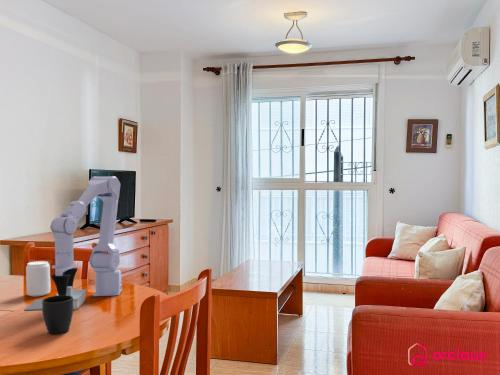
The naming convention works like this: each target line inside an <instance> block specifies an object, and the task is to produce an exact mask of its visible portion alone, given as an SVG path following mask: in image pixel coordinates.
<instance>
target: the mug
mask: <svg viewBox="0 0 500 375" xmlns="http://www.w3.org/2000/svg"><path fill="white" fill-rule="evenodd" d="M42 299H43V301H42V310H41V311H42V316H43V321H44V324H45V328H46V330H47V333H48V334H49V335H53V336H56V335H57V336H58V335H64V334H66V333H68V332H69V331H70V327H71V324H72V319H73V314H74V310H73V297H72V296H67V295H59V296H58V295H57V294H55V295H52V296H48V297H45V298H42Z"/></svg>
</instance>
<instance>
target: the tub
mask: <svg viewBox="0 0 500 375" xmlns="http://www.w3.org/2000/svg"><path fill="white" fill-rule="evenodd" d="M85 301H86V292H85V293H84V295H83V296H82V297H81V298H80V299H79V300H78V301H73V311H74V310H75V311H76V310H77V311H78V309H80V307H82V305H83V304H84V303H85Z"/></svg>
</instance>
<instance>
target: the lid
mask: <svg viewBox="0 0 500 375" xmlns="http://www.w3.org/2000/svg"><path fill="white" fill-rule="evenodd" d="M73 286H74V285H73ZM73 286H67V292H66V295H67V296H72V297H73V301H78V300H79V299H80V298H81V297H82V296H83V295H84V293H85V294H86V293H87V288H86V289H81V288H80V289H73ZM56 295H58V293H56ZM58 296H59V295H58Z"/></svg>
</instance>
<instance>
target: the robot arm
mask: <svg viewBox="0 0 500 375" xmlns="http://www.w3.org/2000/svg"><path fill="white" fill-rule="evenodd" d="M120 189H121V182H120V180H119V179H118V177H117V176H114V175H112V176H97V175H96V176H95V175H94V176H92V177H91V178H90V179H89V180H88V181H87V187H86V188H85V190H84V191H83V193H82V194H81V196H80V197H79V198H78V200H74V201H70V202H69V205H68V206H67V208H65V210H63V212H62V213H61V215H59V216H56V217H55V218H53V219H52V221H51V224H50V227H49V228H50V231H51V233H52V238H53V239H54V253H55V254H54V255H55V256H54V259H55V264H54V265H51V269H55V270H54V271H55V274H51V275H50V278H51V280H52V281H53V283H54V285H55V287H56V291H57V294H58V295H66V292H67V286H74V280H75V277H76V274H77V271H78V267H75V259H74V258H75V256H74V255H75V254H74V233H75V232H76V231H77V229H78V225H79V221H80V220H81V219H82V218H83V216H84V215H85V214H86V213H87V206H88V205H89V204H90V203H92V202H93V200H94V199H95V198H96V197H97V198H98V199H100V200H101V201H102V203H103V204H102V211H101V220H100V228H99V235H98V236H99V237H98V244H96V245H95V246H94V247H92V251H91V255H90V256H89V266H90V267H91V268H92V271H94V284H95V286H94V290H95V292H94V293H92V297H104V296H105V297H107V296H119V295H120V294H121V293H122V291H123V288H122V287H123V286H122V270H120V269H117V268H118V267H119V265H120V261H121V259H120V250H119V248H118V247H116V246H115V245H114V242H115V234H116V225H117V224H116V222H117V216H118V215H117V213H118V204H119V199H120V193H121V190H120Z"/></svg>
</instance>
